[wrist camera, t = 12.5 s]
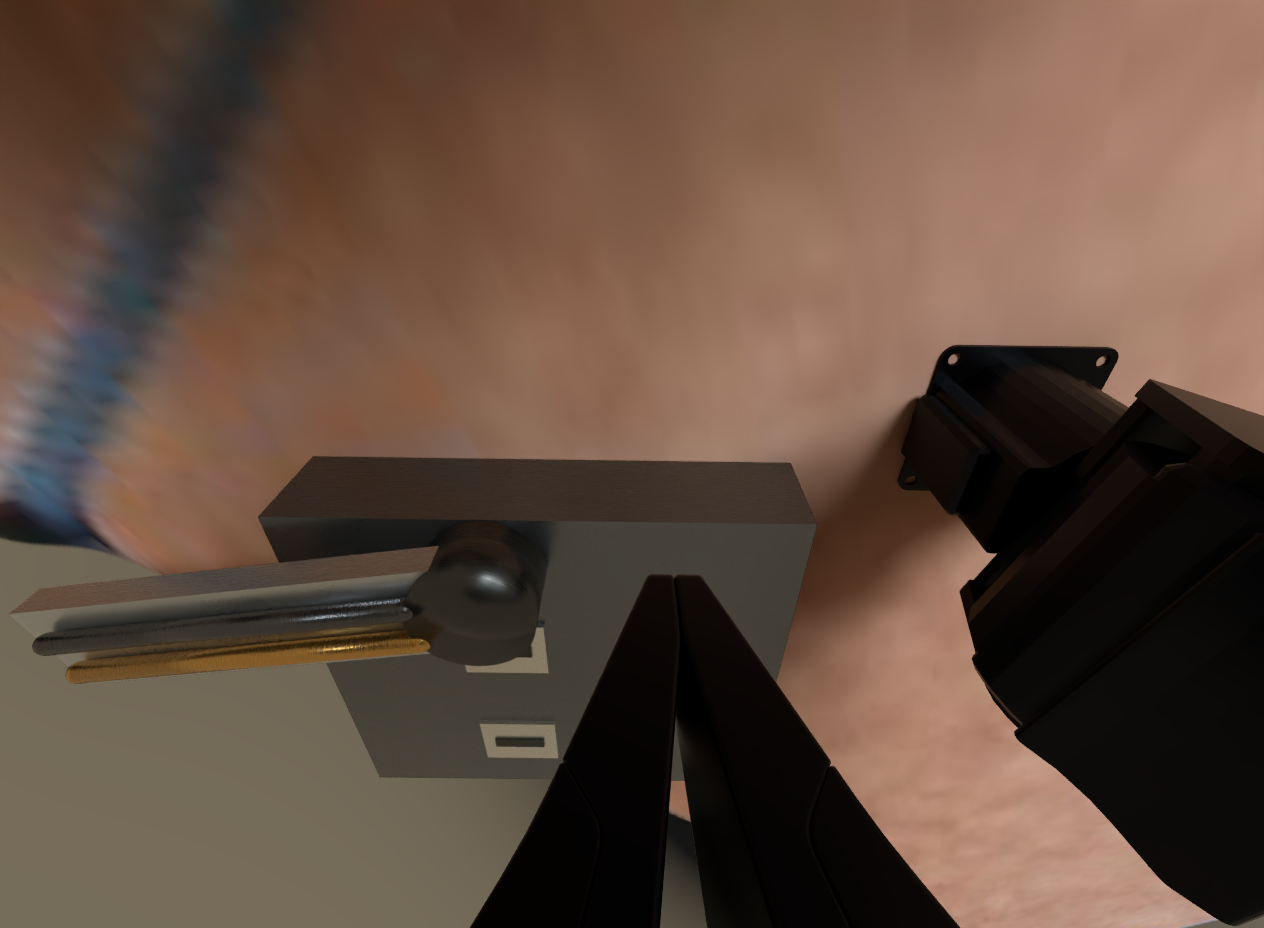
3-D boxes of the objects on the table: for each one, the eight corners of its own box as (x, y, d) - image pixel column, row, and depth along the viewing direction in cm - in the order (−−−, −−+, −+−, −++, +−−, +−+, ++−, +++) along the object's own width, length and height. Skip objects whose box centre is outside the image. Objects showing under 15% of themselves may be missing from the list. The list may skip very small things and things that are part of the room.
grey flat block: (790, 463, 23) (819, 530, 19) (738, 712, 33) (751, 787, 29) (313, 456, 23) (253, 522, 19) (406, 708, 33) (377, 782, 29)
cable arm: (558, 601, 21) (547, 665, 19) (133, 642, 23) (73, 706, 20) (530, 514, 19) (515, 575, 17) (58, 566, 20) (-20, 629, 18)
